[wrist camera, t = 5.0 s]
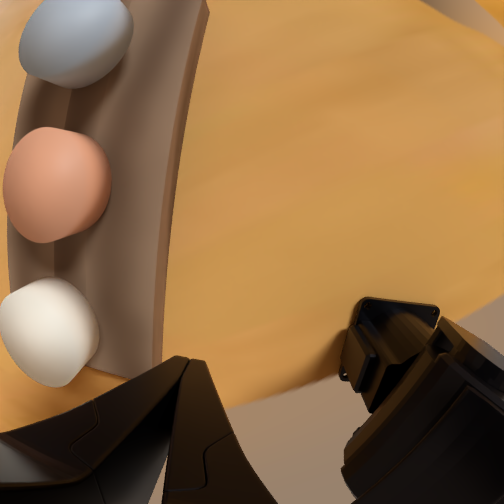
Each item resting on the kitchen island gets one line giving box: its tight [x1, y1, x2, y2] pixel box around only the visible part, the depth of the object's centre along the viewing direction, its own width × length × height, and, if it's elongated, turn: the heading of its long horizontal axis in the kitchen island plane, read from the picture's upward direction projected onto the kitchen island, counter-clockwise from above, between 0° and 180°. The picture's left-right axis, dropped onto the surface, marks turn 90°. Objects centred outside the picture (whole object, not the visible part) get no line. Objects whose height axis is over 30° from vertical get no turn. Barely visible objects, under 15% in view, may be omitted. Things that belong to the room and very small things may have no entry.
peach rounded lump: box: [3, 127, 112, 243], centre depth 16 cm, size 6×6×6 cm
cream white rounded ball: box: [0, 276, 99, 387], centre depth 17 cm, size 6×6×6 cm
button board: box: [7, 0, 210, 379], centre depth 18 cm, size 12×25×2 cm, turn 171°
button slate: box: [19, 0, 134, 89], centre depth 13 cm, size 6×6×6 cm
